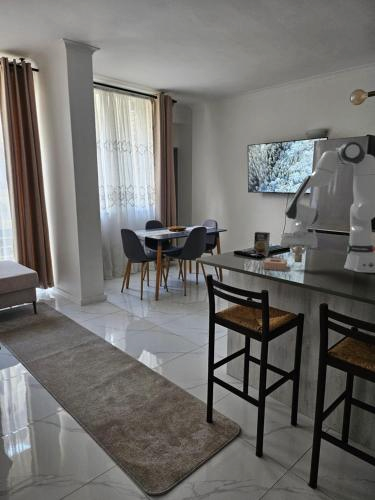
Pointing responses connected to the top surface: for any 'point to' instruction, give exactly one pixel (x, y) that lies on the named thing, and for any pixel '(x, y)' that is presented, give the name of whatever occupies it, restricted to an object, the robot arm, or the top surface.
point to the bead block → (275, 264)
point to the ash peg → (298, 253)
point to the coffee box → (261, 243)
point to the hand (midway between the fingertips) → (298, 252)
